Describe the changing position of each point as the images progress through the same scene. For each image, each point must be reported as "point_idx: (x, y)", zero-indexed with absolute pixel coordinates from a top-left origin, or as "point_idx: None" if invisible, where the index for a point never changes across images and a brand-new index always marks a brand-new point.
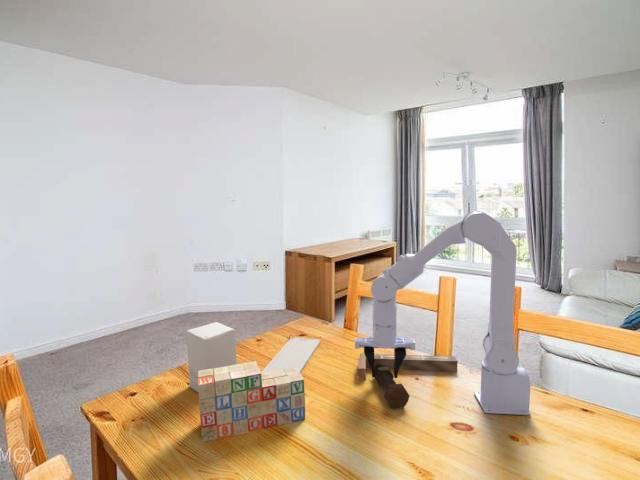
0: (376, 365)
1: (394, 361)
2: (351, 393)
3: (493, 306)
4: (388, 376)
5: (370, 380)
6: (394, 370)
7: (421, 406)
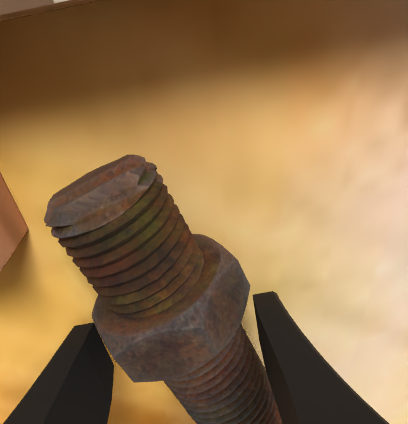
0: (69, 236)
1: (286, 387)
2: (15, 372)
3: None
4: (220, 400)
5: None
6: (269, 368)
7: (374, 373)
